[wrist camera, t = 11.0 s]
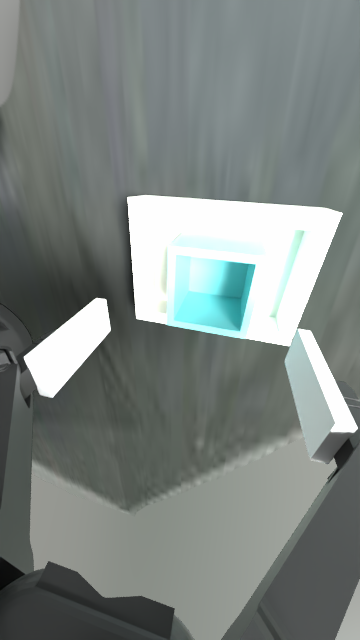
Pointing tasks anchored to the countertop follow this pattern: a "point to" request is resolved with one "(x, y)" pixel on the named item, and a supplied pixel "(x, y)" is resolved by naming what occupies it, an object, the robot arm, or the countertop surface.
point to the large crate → (243, 218)
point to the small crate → (214, 281)
